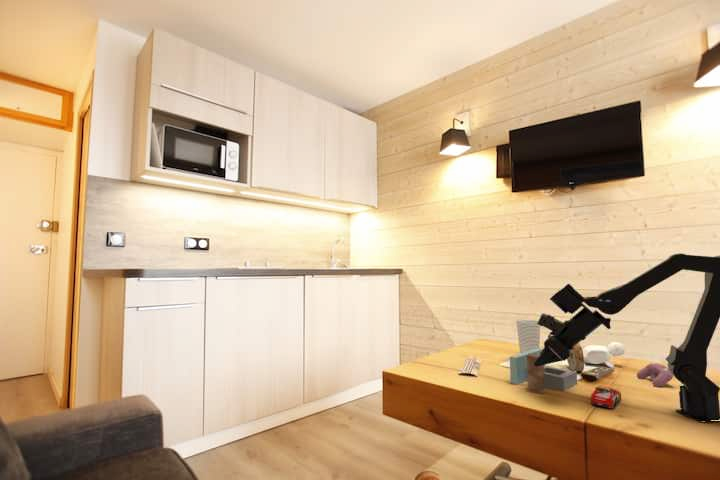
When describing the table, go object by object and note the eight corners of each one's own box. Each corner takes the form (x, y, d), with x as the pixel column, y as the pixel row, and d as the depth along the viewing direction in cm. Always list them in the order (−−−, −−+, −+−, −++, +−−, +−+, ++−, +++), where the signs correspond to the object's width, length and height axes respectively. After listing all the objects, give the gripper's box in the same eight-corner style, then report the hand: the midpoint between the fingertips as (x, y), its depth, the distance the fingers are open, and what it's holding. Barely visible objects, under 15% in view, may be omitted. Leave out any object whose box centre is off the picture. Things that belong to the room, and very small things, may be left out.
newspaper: (466, 361, 139) (466, 356, 140) (485, 362, 137) (485, 358, 137) (458, 377, 118) (458, 371, 118) (480, 379, 115) (480, 374, 115)
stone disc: (587, 375, 118) (585, 344, 119) (574, 374, 119) (573, 344, 120) (578, 367, 128) (576, 339, 129) (566, 366, 129) (565, 338, 130)
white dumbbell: (589, 375, 129) (634, 363, 124) (578, 352, 131) (622, 339, 126) (583, 369, 137) (626, 357, 132) (573, 347, 138) (614, 335, 134)
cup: (528, 366, 129) (526, 322, 131) (512, 360, 137) (511, 319, 139) (547, 364, 131) (545, 322, 133) (530, 359, 140) (529, 319, 141)
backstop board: (545, 372, 120) (544, 348, 121) (516, 384, 108) (515, 357, 108) (539, 371, 122) (538, 347, 123) (510, 383, 109) (509, 356, 110)
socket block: (577, 385, 108) (576, 371, 109) (564, 392, 102) (563, 377, 102) (543, 377, 116) (543, 365, 116) (529, 383, 110) (528, 370, 110)
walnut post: (544, 389, 103) (543, 354, 104) (543, 393, 100) (542, 357, 100) (529, 387, 105) (528, 353, 106) (528, 391, 102) (526, 355, 103)
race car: (600, 394, 100) (599, 380, 101) (623, 399, 96) (622, 384, 97) (587, 406, 91) (586, 390, 92) (612, 412, 87) (611, 395, 88)
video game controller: (669, 393, 105) (679, 372, 105) (652, 385, 106) (663, 364, 106) (648, 383, 114) (658, 364, 114) (634, 376, 115) (643, 356, 115)
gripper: (557, 302, 109) (519, 334, 114) (553, 307, 94) (509, 344, 99) (589, 330, 104) (548, 363, 109) (589, 340, 89) (542, 378, 94)
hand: (536, 361), depth 103 cm, fingers open, 9 cm apart
